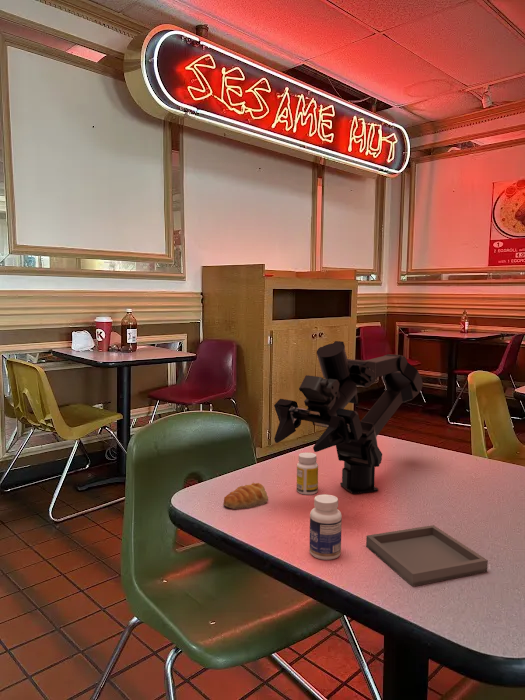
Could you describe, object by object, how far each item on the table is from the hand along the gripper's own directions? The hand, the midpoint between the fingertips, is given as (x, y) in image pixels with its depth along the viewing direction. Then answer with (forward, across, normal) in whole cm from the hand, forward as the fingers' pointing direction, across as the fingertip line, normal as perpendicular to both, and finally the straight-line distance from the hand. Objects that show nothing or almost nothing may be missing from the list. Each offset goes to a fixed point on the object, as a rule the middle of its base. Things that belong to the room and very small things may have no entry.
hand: (294, 445), depth 104 cm
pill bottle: (+13, +11, +11) cm, 20 cm away
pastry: (+5, -14, +15) cm, 21 cm away
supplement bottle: (-7, -8, +21) cm, 24 cm away
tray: (+4, +25, +15) cm, 30 cm away
